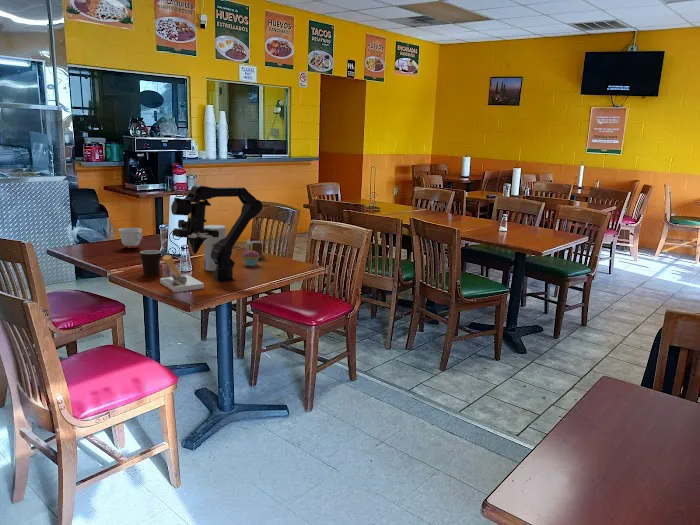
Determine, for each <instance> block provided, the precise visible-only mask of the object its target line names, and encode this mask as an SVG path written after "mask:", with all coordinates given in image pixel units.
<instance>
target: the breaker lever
mask: <svg viewBox="0 0 700 525" xmlns="http://www.w3.org/2000/svg"><path fill="white" fill-rule="evenodd" d="M161 257H162V256H161ZM161 260H163V262H164V263H165V264H167V266H168V268H169V270H170V271H171V273H172V274H173V275H174V277H175V278H176V279H177V280H179V277H180V276H182V275H181V274H180V271H179V270H178V268H177V267H176V265H175V260H174V258H173V257H172V256H170V255H168V254H165V255H164V256H163V257H162V258H161Z"/></svg>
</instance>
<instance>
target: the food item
mask: <svg viewBox="0 0 700 525" xmlns="http://www.w3.org/2000/svg"><path fill="white" fill-rule="evenodd" d="M259 239H260V237H256V236H255V237H250V238H247V239H246V243H245V247H246V248H245V249H246V250H245V251H249V250H250V251H251V243H252V251H256V252H258V253H259V255H260V258H259V259H262V258H263V243H262V240H259Z"/></svg>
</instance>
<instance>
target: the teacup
mask: <svg viewBox="0 0 700 525" xmlns="http://www.w3.org/2000/svg"><path fill="white" fill-rule="evenodd" d="M117 230H118V232H119V235H120V240H121V244H122V245H123V246H124V247H126V246H129V247H130V246H137V247H138V245H140V243H141V240H142V239H143V236H144V234H143V232H142V231H143V229H142V228H141V227H122V228H121V227H120V228H118V229H117Z"/></svg>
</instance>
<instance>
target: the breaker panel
mask: <svg viewBox="0 0 700 525" xmlns="http://www.w3.org/2000/svg"><path fill="white" fill-rule="evenodd" d="M159 280H160V284H161V285H163V286H164V287H166V288H167V287H168V288H167V289H169V290H170V289H171V290H170V291H173V292H174V293H181V292H188V291H194V290H201V289H204V288H205V287H204V286H205V285H204V284H205V283H204V282H202V281H200V280H198V279H196V278H194V277H192V276H191V275H189V274H184V275H181V276H180V277H179V280H177V279H176V278H175V277H174V275H173V273H172V274H171V276H169V277H160V278H159ZM180 291H181V292H180Z"/></svg>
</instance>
